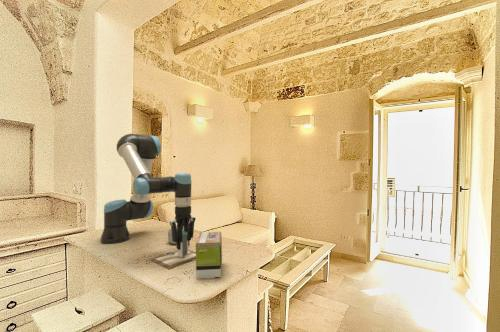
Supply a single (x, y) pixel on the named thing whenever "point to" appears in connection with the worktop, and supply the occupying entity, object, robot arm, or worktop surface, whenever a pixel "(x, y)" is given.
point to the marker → (184, 242)
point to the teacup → (171, 236)
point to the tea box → (209, 255)
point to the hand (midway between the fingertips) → (183, 254)
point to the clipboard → (174, 259)
